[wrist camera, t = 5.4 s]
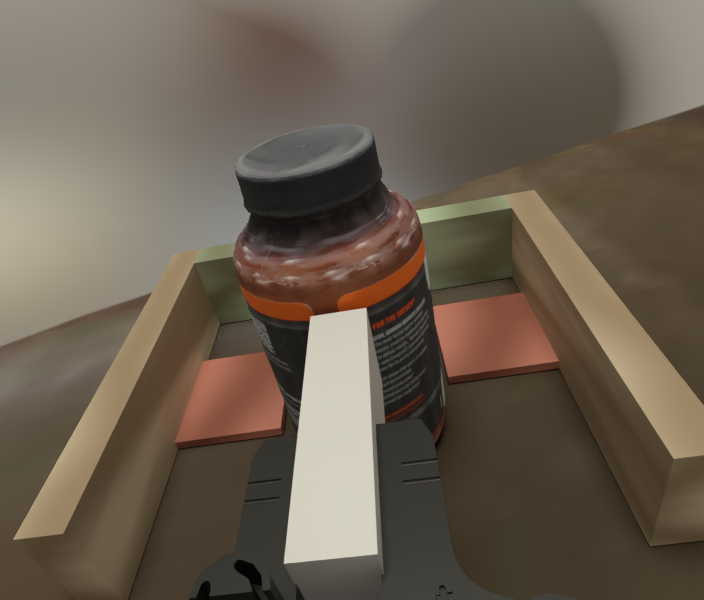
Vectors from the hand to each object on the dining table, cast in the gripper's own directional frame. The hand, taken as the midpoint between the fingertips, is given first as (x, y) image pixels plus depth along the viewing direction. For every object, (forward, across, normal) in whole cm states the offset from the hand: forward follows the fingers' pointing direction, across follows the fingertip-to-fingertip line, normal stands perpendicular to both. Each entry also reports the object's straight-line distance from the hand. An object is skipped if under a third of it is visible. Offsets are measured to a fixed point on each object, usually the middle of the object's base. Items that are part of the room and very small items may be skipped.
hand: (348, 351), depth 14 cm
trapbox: (+5, 0, -6) cm, 8 cm away
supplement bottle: (+3, 0, -7) cm, 7 cm away
